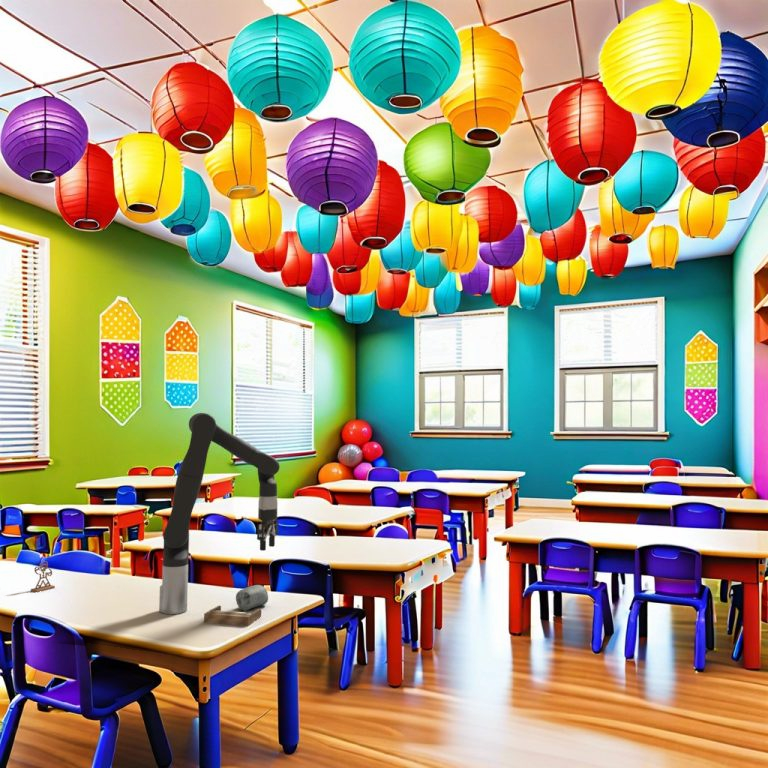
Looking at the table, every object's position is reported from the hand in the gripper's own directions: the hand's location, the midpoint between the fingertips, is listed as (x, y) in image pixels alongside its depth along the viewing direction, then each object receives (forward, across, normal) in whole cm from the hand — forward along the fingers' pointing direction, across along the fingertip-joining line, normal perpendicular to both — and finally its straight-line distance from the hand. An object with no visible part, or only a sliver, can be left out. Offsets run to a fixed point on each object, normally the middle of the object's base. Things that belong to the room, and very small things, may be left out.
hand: (267, 548), depth 272 cm
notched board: (+21, +26, -1) cm, 34 cm away
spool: (+21, +10, -2) cm, 23 cm away
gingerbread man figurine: (+21, +9, -98) cm, 100 cm away
